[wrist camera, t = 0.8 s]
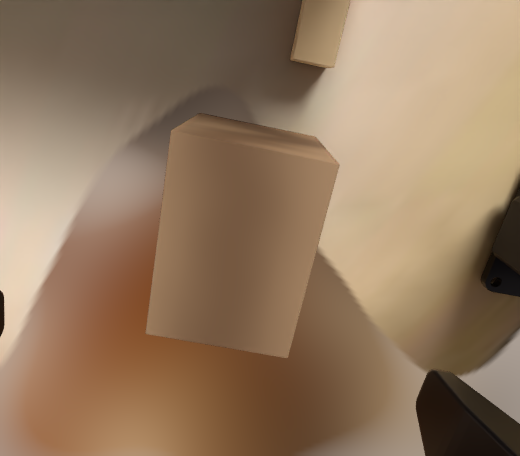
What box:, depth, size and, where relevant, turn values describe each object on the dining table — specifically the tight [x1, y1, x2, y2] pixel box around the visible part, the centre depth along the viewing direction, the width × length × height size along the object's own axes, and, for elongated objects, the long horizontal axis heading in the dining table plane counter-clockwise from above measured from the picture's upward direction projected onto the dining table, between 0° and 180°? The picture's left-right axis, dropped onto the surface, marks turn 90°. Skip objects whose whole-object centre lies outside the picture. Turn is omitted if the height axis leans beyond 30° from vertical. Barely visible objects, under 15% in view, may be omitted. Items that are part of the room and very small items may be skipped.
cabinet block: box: [146, 113, 339, 358], centre depth 16 cm, size 5×7×6 cm
